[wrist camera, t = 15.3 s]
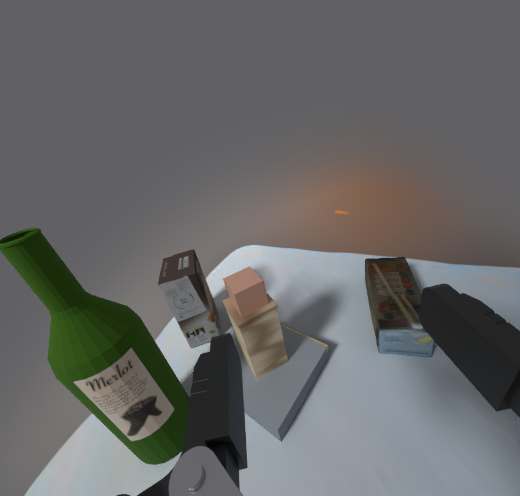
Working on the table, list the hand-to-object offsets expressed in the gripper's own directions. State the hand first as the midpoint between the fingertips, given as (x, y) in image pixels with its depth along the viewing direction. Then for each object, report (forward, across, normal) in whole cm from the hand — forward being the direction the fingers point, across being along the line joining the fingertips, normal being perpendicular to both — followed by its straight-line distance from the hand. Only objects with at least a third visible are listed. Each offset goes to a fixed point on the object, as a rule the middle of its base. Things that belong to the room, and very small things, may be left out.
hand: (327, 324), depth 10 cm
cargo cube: (+19, +5, +15) cm, 25 cm away
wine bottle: (+13, +21, +30) cm, 39 cm away
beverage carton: (+24, -19, +30) cm, 44 cm away
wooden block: (+19, +5, +27) cm, 33 cm away
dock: (+18, +5, +30) cm, 35 cm away
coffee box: (+32, +17, +30) cm, 47 cm away
